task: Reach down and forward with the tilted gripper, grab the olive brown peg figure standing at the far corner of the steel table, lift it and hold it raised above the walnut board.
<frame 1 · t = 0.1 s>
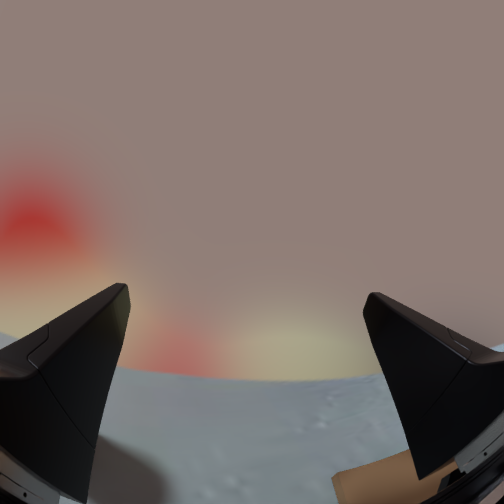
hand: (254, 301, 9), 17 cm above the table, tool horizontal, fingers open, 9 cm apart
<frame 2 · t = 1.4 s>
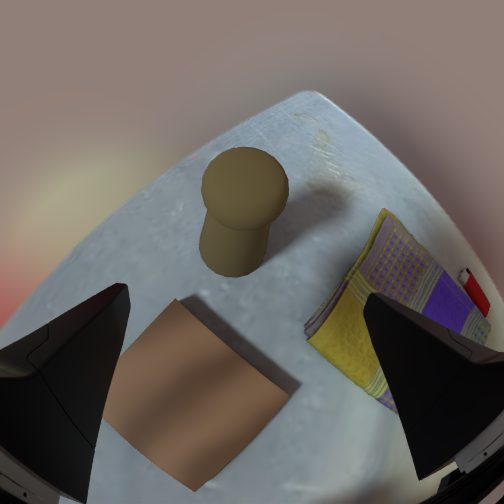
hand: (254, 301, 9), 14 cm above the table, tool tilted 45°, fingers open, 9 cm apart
olive brown peg figure: (232, 245, 25), on the table
dish towel: (415, 335, 25), on the table
walnut board: (183, 401, 19), on the table
lighter: (470, 293, 28), on the table
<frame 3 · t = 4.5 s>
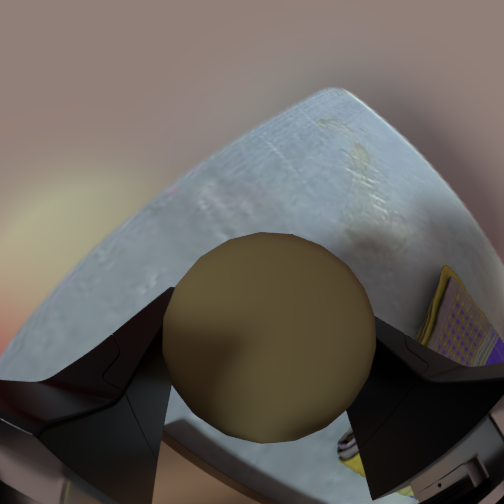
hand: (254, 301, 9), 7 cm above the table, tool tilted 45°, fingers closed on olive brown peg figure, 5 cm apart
olive brown peg figure: (236, 344, 15), on the table, touching gripper
dish towel: (458, 416, 15), on the table
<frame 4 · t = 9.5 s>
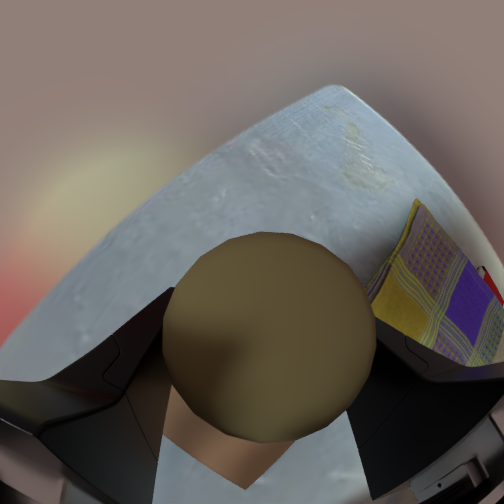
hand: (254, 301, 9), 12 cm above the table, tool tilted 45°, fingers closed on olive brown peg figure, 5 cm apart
olive brown peg figure: (236, 344, 15), point 6 cm above the table, touching gripper
dish towel: (444, 320, 25), on the table
walnut board: (233, 394, 19), on the table
lighter: (485, 290, 27), on the table
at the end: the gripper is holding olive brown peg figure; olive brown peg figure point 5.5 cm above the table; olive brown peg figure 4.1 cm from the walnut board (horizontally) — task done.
